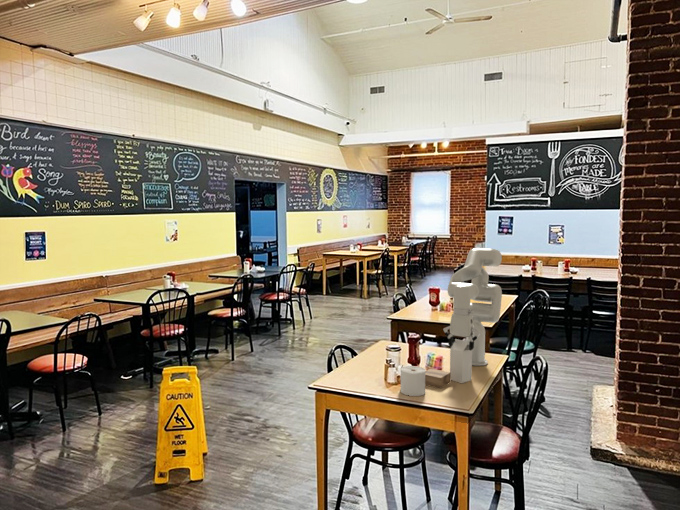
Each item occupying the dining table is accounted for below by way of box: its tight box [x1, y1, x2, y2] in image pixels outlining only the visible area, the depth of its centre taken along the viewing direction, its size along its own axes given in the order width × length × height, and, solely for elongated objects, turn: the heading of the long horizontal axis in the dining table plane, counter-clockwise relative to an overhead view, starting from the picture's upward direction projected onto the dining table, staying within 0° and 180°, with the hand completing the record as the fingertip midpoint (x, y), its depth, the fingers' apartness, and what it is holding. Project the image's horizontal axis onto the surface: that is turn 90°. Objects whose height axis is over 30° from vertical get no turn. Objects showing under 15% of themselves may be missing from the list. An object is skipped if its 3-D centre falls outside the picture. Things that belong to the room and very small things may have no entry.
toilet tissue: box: [400, 364, 427, 397], centre depth 216 cm, size 11×12×10 cm
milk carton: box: [449, 338, 473, 384], centre depth 231 cm, size 7×7×19 cm
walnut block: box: [425, 368, 451, 389], centre depth 228 cm, size 10×10×5 cm
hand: (460, 348), depth 230 cm, fingers open, 9 cm apart
